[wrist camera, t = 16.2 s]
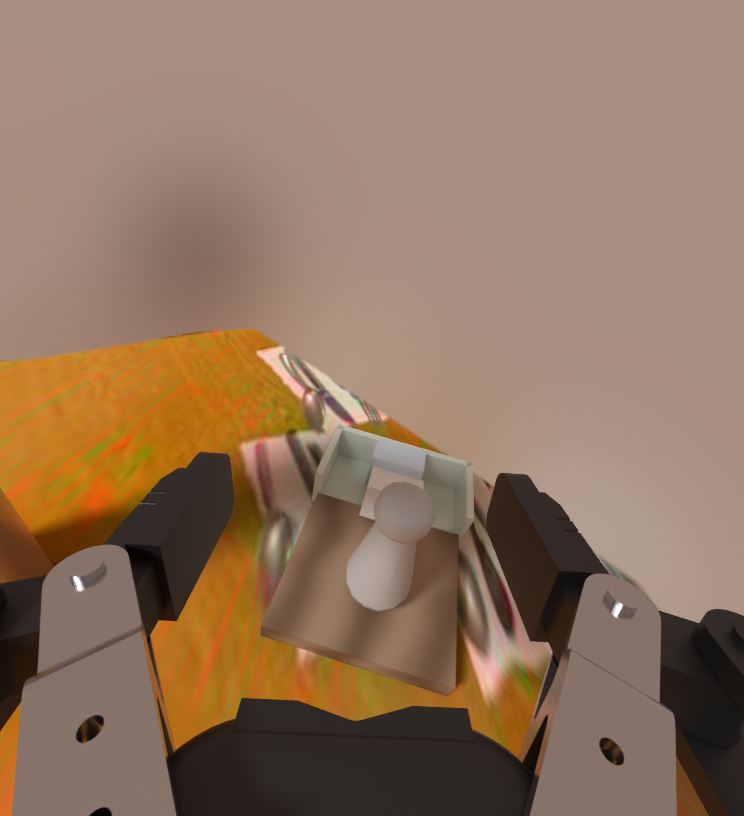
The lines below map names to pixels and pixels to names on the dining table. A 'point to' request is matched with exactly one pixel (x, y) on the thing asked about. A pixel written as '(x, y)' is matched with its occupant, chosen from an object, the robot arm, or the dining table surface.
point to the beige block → (376, 485)
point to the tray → (442, 478)
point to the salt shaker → (390, 547)
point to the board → (359, 626)
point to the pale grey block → (398, 459)
